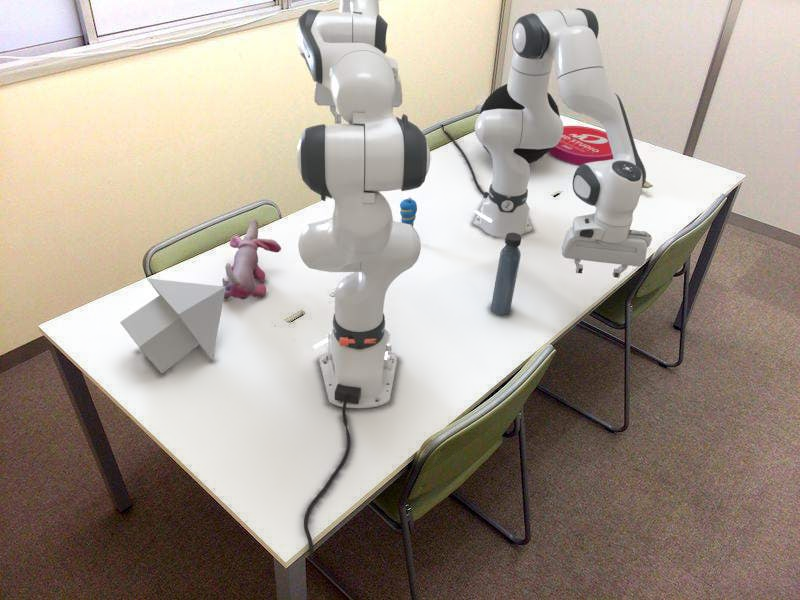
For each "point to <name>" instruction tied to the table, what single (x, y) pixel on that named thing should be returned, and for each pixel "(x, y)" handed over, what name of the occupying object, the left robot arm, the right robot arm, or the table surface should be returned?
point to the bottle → (505, 280)
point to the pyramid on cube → (176, 321)
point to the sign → (582, 145)
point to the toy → (247, 265)
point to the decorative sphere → (504, 101)
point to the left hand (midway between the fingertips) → (358, 123)
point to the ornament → (408, 211)
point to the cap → (513, 240)
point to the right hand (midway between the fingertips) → (597, 274)
